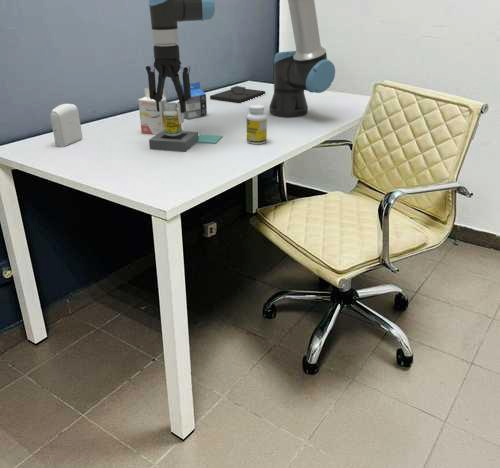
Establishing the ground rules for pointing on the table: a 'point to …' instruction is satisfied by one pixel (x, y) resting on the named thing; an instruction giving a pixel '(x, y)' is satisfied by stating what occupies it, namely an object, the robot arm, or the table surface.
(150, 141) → the socket frame
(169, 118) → the supplement bottle
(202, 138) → the coaster
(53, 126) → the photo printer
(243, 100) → the black ridged flat slab
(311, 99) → the table surface
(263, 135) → the pill bottle
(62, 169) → the table surface
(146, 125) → the ink cartridge box
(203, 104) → the label tape cartridge
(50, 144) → the table surface
